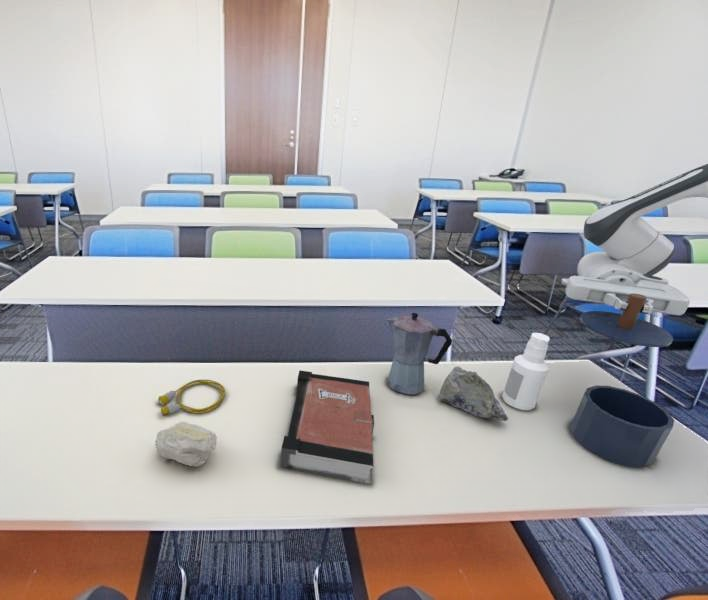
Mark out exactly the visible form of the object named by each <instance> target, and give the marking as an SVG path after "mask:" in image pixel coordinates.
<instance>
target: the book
mask: <svg viewBox="0 0 708 600" xmlns="http://www.w3.org/2000/svg"><path fill="white" fill-rule="evenodd" d="M298 371H299V372H298V376H297V380H296V381H297V383H296V396H295V401H294V406H293V411H292V415H291V420H290V423H289V430H288V433H287V435H284V436H283V439H282V444H281V452H280V468H281V469H286V470H287V469H288V470H292V471H298V472H302V473H308V474H313V475H317V476H324V477H329V478H334V479H339V480H345V481H349V482H356V483H361V484H366V485H371V482H372V478H371V476H372V475H371V469H372V470H374V467H375V466H374V448H373V435H374V428H375V416H374V415H375V414H372V410H371V409H372V407H371V388H370V387H371V386H370V381H369V380H368V381H366V380H362V379H361V380H360V379H353V378H347V377H346V378H345V377H338V376H331V375H323V374H316V373H313V371H308V370H301V369H300V370H298Z"/></svg>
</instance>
